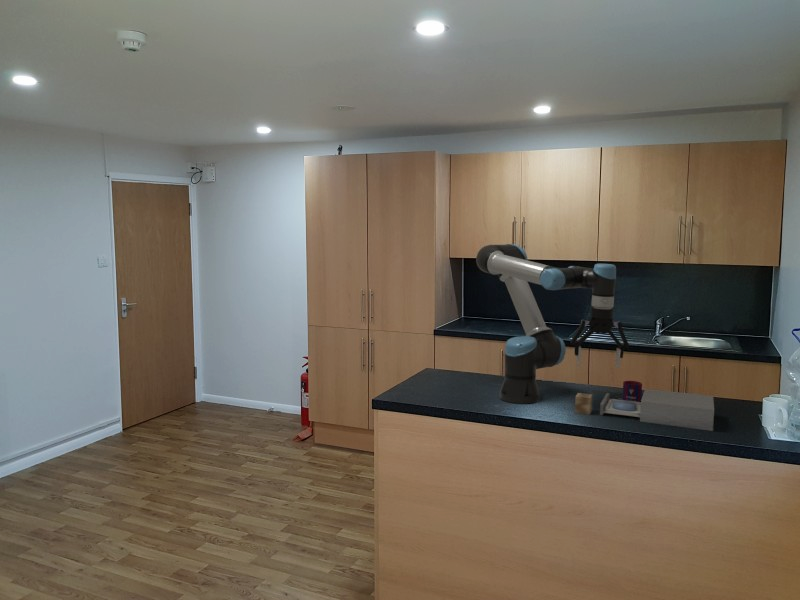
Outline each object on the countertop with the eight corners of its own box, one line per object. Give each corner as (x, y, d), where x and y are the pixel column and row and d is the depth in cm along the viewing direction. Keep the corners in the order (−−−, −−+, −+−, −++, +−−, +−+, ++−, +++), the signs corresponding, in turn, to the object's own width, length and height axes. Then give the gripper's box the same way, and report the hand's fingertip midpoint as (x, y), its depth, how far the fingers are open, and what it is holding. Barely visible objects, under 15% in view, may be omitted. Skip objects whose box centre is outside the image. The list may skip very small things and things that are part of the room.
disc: (611, 409, 213) (611, 405, 213) (613, 403, 220) (613, 399, 220) (635, 412, 210) (635, 407, 209) (637, 406, 217) (637, 402, 217)
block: (575, 412, 214) (575, 396, 214) (577, 409, 219) (578, 392, 218) (589, 414, 212) (590, 398, 211) (591, 410, 217) (592, 394, 216)
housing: (639, 421, 204) (640, 401, 204) (644, 407, 220) (645, 388, 220) (712, 431, 195) (714, 409, 194) (711, 415, 211) (713, 396, 210)
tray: (599, 414, 211) (600, 404, 211) (606, 403, 225) (606, 393, 225) (654, 421, 203) (654, 410, 203) (657, 409, 218) (657, 398, 217)
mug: (621, 401, 229) (622, 383, 228) (624, 394, 238) (625, 378, 237) (640, 403, 226) (641, 385, 225) (642, 397, 234) (643, 379, 234)
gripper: (567, 307, 213) (563, 366, 216) (641, 310, 210) (636, 370, 213) (564, 304, 220) (560, 360, 223) (636, 307, 217) (631, 364, 220)
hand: (597, 365), depth 218 cm, fingers open, 13 cm apart
